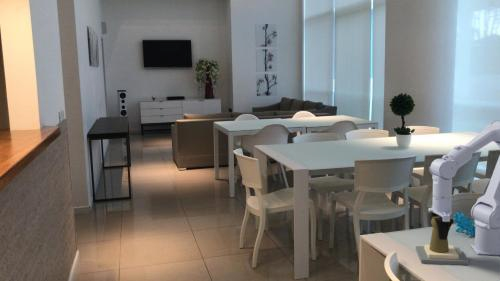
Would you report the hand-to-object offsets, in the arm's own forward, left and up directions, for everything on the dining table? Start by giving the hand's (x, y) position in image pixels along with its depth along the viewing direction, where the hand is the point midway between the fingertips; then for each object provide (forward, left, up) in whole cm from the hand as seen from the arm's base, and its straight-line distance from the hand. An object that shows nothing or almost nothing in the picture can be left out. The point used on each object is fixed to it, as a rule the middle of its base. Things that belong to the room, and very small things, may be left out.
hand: (441, 236), depth 156 cm
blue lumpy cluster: (-14, -25, -7) cm, 29 cm away
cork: (+1, 0, -5) cm, 5 cm away
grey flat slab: (0, 0, -7) cm, 7 cm away
